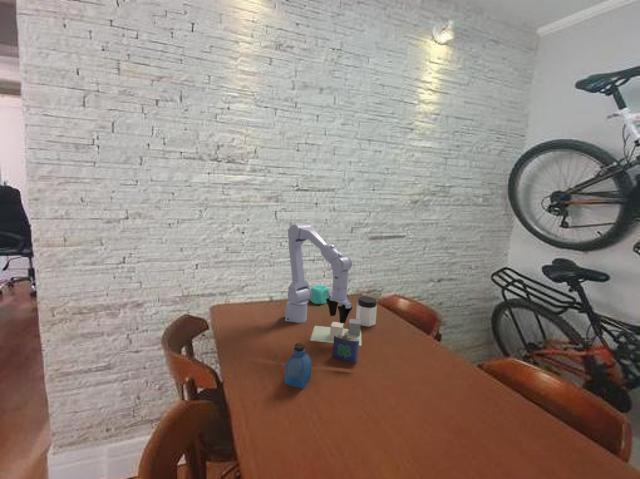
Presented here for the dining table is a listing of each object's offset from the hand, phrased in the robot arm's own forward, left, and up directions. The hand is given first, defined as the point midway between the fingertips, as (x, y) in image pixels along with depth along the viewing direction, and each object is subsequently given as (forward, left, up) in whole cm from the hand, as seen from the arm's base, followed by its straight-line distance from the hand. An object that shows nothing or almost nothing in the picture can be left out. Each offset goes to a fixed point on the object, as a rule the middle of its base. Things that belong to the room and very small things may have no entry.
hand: (337, 319), depth 133 cm
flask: (+4, -17, -9) cm, 19 cm away
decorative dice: (-12, +41, -9) cm, 43 cm away
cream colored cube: (0, 0, -7) cm, 7 cm away
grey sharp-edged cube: (+7, +5, -7) cm, 11 cm away
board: (0, +1, -8) cm, 8 cm away
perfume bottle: (-10, -32, -9) cm, 35 cm away
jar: (+12, +17, -9) cm, 22 cm away
